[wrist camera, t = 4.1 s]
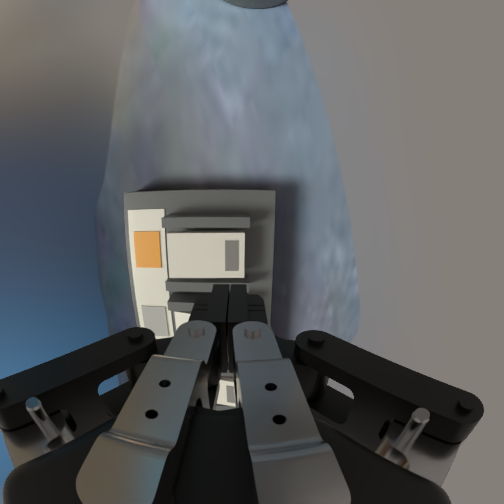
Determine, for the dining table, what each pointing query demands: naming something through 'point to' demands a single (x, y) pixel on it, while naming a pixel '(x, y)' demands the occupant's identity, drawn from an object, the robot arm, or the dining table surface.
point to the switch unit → (193, 219)
